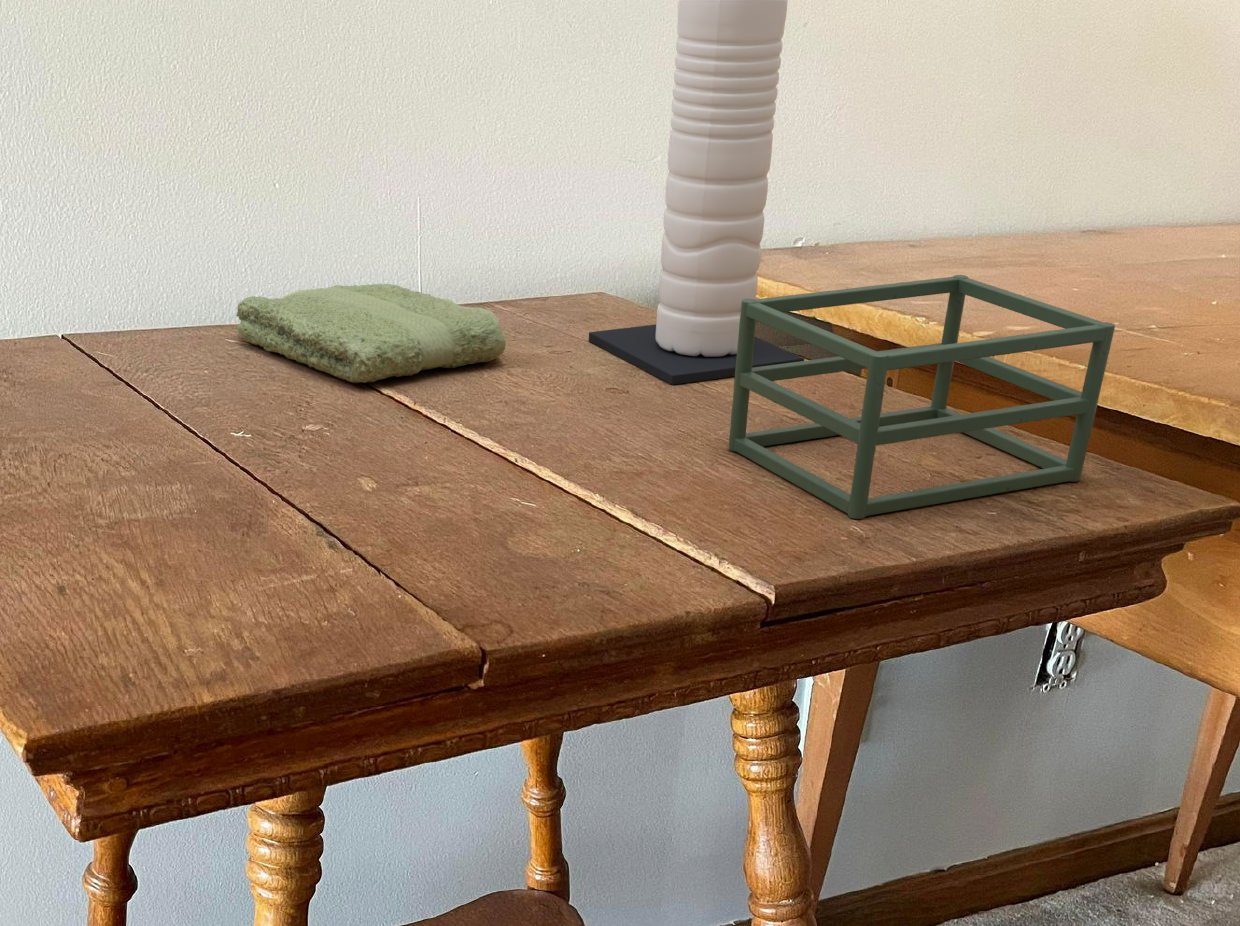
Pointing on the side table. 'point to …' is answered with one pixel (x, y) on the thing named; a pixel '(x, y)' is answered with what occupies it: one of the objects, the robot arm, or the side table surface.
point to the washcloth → (371, 330)
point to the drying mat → (681, 356)
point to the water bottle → (717, 170)
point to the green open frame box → (925, 419)
